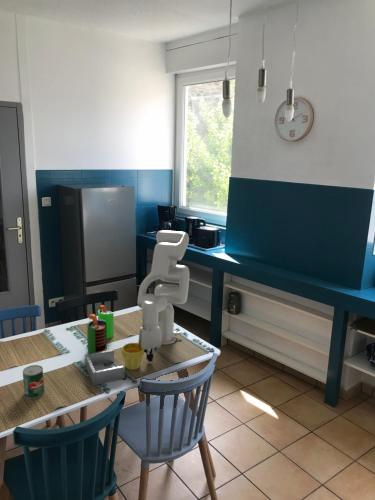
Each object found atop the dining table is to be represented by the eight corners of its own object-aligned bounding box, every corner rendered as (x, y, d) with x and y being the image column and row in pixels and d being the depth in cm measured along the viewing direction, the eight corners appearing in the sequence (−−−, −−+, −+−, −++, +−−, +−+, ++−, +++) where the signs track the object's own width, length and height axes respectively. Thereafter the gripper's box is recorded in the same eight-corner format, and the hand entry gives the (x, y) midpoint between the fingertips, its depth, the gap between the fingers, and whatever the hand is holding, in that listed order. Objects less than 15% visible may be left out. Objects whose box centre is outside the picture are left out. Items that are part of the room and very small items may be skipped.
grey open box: (113, 360, 197) (113, 349, 196) (123, 378, 182) (123, 366, 181) (85, 366, 192) (85, 354, 190) (93, 385, 177) (93, 373, 175)
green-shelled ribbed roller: (117, 334, 225) (116, 304, 220) (107, 340, 218) (106, 309, 214) (105, 330, 229) (104, 300, 225) (94, 335, 223) (93, 305, 218)
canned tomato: (32, 386, 174) (30, 363, 172) (48, 389, 172) (46, 366, 170) (20, 396, 167) (18, 373, 164) (36, 400, 165) (34, 376, 162)
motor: (101, 358, 199) (100, 320, 194) (84, 355, 201) (82, 318, 196) (109, 348, 209) (108, 312, 204) (92, 346, 211) (91, 310, 206)
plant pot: (144, 371, 189) (144, 352, 186) (121, 372, 187) (121, 353, 185) (143, 360, 199) (143, 342, 196) (122, 361, 197) (122, 342, 195)
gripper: (161, 320, 198) (161, 354, 202) (132, 324, 192) (132, 359, 196) (167, 326, 191) (167, 361, 196) (137, 331, 185) (137, 367, 189)
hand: (149, 360), depth 196 cm, fingers closed
